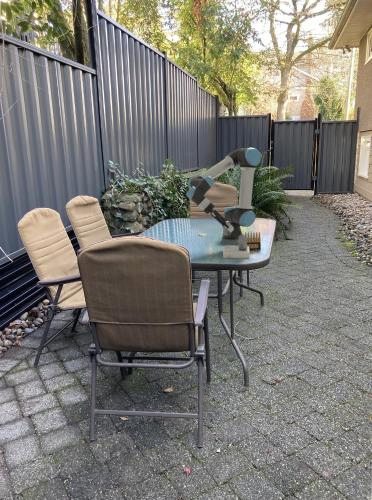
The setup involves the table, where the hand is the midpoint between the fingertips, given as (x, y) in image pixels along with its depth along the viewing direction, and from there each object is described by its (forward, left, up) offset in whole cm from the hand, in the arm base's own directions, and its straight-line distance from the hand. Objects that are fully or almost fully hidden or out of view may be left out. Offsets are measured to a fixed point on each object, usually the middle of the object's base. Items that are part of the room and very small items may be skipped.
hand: (232, 230), depth 254 cm
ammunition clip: (+4, +13, -13) cm, 19 cm away
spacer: (0, -4, -3) cm, 5 cm away
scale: (+16, +3, -12) cm, 20 cm away
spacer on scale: (+20, +7, -8) cm, 23 cm away
